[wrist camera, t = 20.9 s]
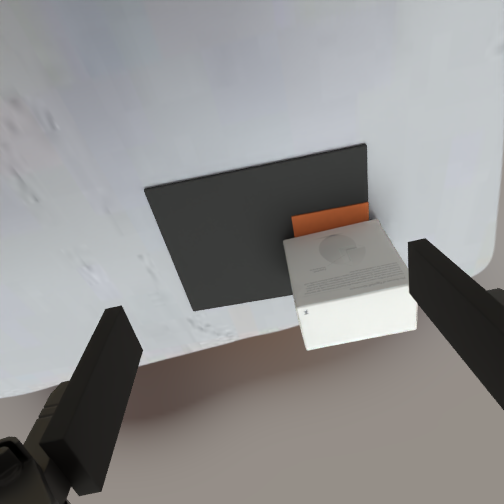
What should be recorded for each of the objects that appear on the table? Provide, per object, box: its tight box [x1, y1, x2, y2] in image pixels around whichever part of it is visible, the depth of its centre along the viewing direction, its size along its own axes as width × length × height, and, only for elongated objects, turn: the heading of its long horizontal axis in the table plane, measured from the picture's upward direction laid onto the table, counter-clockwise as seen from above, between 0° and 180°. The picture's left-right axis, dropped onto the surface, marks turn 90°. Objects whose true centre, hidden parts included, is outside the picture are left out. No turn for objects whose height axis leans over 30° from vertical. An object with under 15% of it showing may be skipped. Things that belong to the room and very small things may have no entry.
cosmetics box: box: [283, 219, 418, 350], centre depth 36 cm, size 10×6×10 cm, turn 105°
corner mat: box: [144, 144, 369, 311], centre depth 40 cm, size 22×17×1 cm
